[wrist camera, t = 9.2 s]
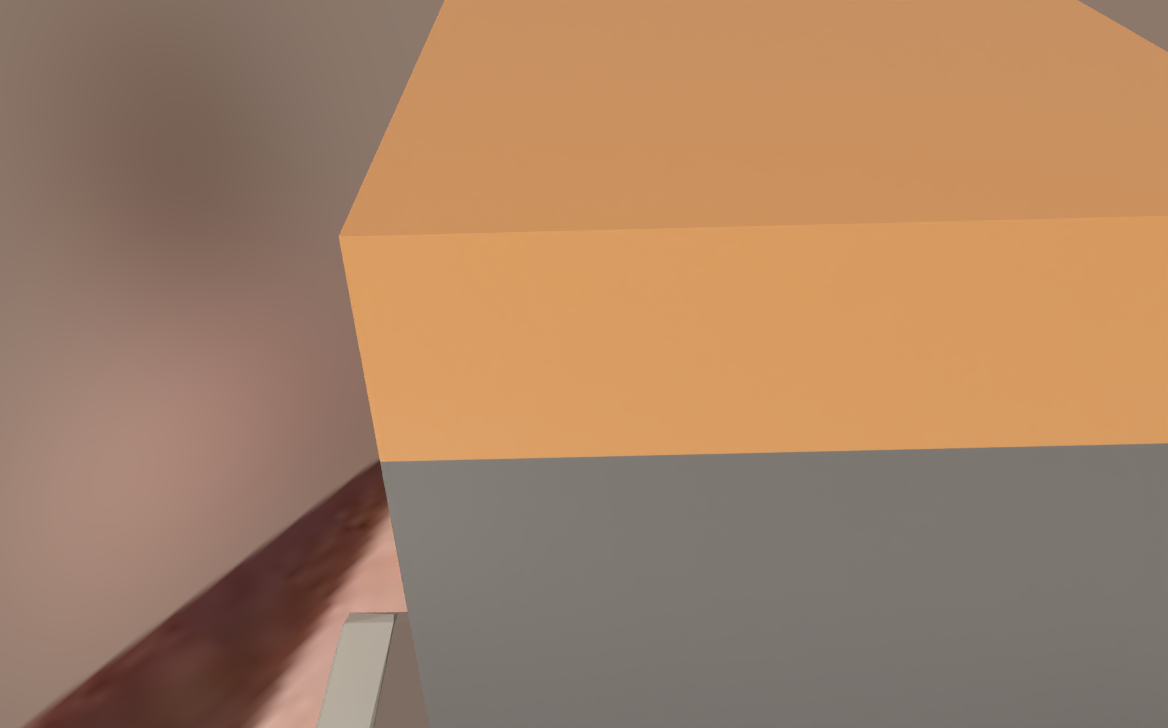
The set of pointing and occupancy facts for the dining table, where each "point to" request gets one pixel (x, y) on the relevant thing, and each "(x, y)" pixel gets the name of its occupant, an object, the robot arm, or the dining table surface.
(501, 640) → the plug peg
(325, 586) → the dining table surface
